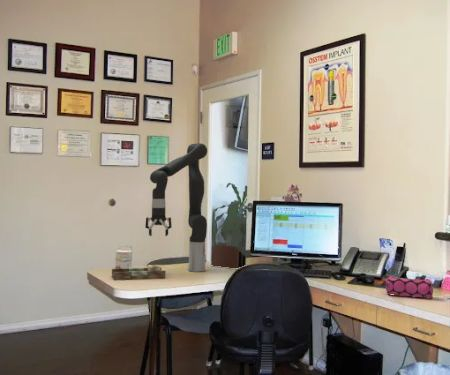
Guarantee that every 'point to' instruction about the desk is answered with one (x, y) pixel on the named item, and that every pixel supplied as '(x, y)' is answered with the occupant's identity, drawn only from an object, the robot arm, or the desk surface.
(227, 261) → the letter holder
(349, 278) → the desk surface
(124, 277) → the tunnel deck
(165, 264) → the desk surface
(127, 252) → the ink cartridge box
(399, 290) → the pencil case
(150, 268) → the maple block
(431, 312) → the desk surface
